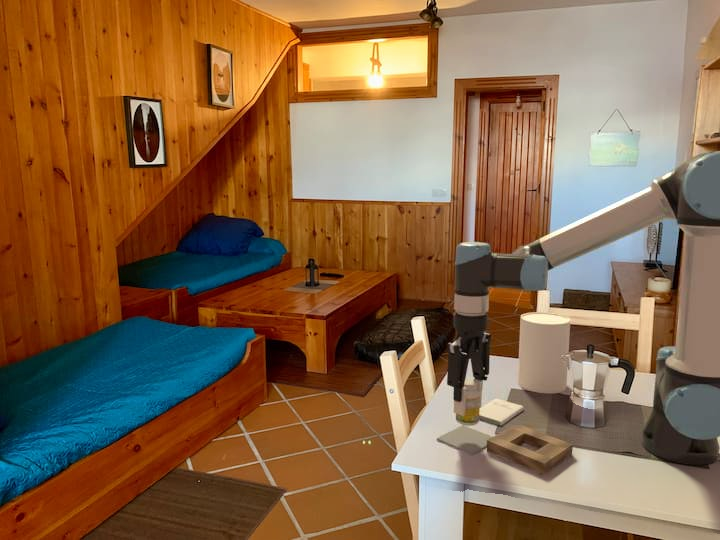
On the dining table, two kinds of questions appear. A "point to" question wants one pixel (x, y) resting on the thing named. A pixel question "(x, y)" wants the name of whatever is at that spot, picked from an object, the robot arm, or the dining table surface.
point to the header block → (539, 461)
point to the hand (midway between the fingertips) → (467, 409)
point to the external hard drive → (499, 411)
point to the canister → (543, 352)
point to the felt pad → (465, 439)
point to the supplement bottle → (470, 404)
